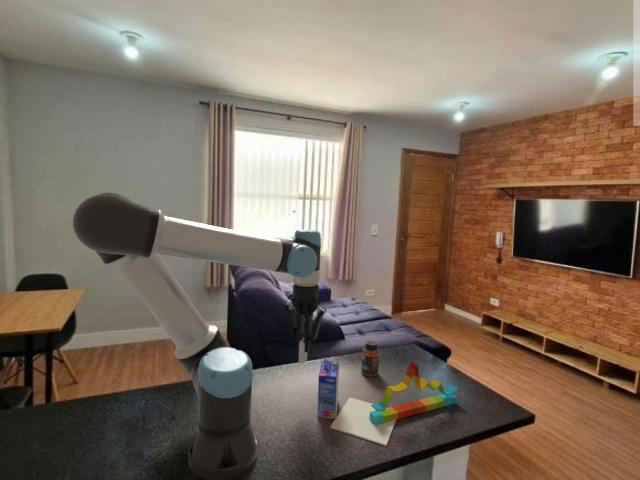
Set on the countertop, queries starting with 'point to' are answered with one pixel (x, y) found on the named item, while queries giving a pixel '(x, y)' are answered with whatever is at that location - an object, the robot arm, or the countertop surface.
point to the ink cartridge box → (328, 389)
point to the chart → (413, 407)
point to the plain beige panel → (362, 422)
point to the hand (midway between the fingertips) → (302, 361)
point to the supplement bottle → (370, 359)
